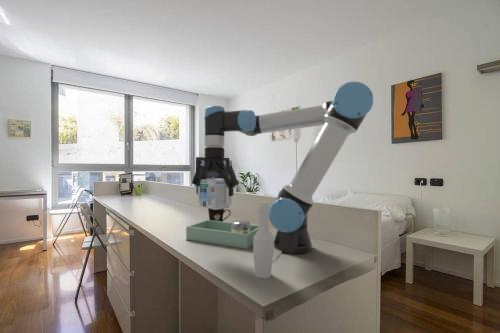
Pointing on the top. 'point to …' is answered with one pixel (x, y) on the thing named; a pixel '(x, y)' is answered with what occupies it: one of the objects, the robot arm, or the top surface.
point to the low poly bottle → (263, 244)
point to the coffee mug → (217, 214)
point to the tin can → (240, 226)
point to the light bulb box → (213, 194)
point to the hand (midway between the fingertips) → (214, 203)
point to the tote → (220, 234)
